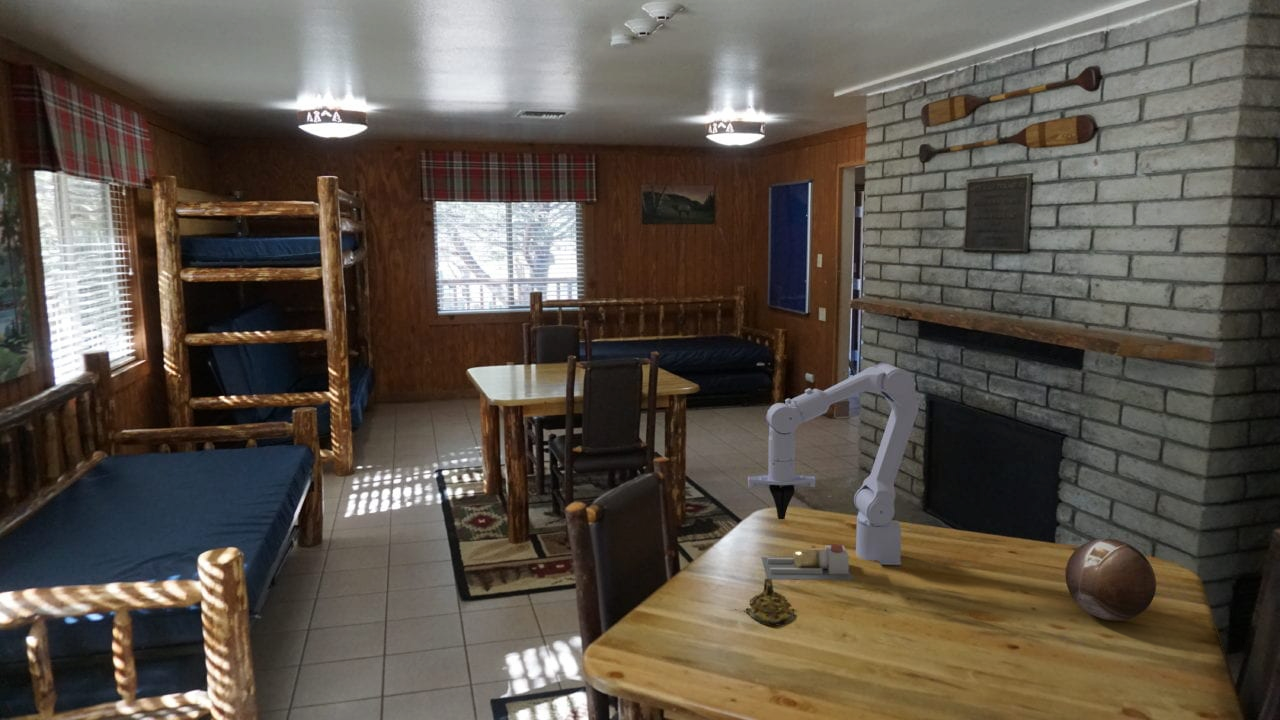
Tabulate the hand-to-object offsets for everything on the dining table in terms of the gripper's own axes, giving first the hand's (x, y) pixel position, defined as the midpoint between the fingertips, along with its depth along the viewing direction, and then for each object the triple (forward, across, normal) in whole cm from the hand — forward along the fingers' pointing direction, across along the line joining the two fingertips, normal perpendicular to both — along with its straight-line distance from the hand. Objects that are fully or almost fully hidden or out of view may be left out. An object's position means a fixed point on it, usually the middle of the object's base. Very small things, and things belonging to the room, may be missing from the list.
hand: (781, 517), depth 188 cm
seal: (+11, +5, +24) cm, 27 cm away
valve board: (+10, -5, +6) cm, 13 cm away
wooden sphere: (+11, -58, +26) cm, 65 cm away
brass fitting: (+9, -5, +6) cm, 12 cm away
